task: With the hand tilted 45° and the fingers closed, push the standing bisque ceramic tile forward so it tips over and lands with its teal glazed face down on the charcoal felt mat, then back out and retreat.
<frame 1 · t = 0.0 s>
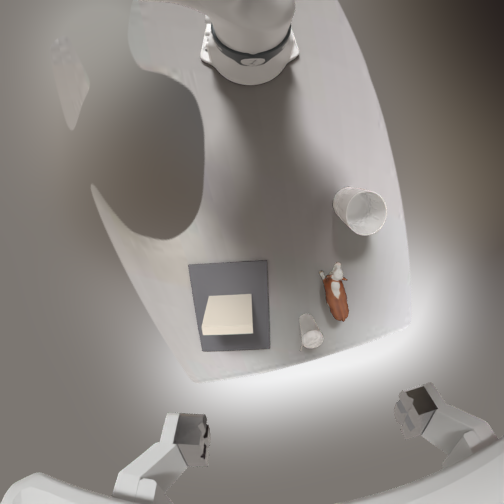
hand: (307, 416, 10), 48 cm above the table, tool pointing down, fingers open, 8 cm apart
milkshake: (303, 319, 64), on the table
mat: (231, 309, 63), on the table
tile: (230, 298, 61), point 1 cm above the table, touching mat
bull figurine: (329, 281, 61), on the table
white cup: (347, 203, 56), on the table
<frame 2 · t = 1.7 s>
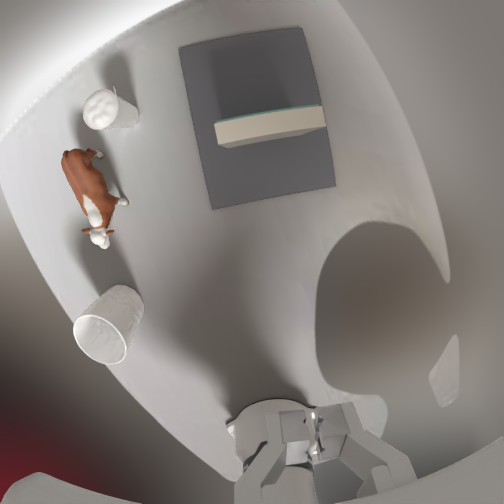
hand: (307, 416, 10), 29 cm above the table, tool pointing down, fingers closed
milkshake: (131, 114, 32), on the table
mat: (257, 111, 33), on the table
tile: (262, 134, 33), point 1 cm above the table, touching mat
bull figurine: (109, 189, 35), on the table
white cup: (125, 303, 41), on the table
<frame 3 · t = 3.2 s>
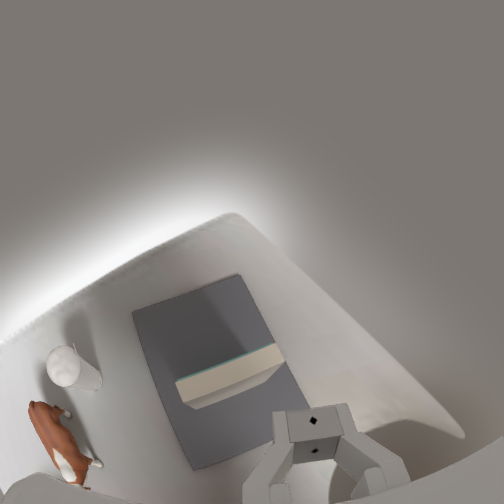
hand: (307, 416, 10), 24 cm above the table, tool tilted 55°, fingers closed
milkshake: (94, 378, 31), on the table
mat: (217, 369, 34), on the table
tile: (227, 389, 32), point 1 cm above the table, touching mat
bull figurine: (81, 450, 25), on the table
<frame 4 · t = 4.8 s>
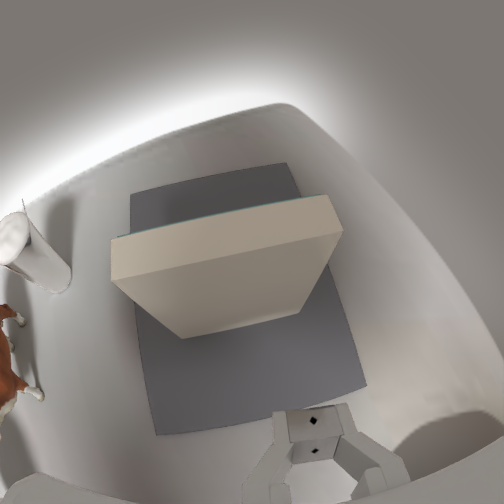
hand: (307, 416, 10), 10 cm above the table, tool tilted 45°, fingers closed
milkshake: (63, 276, 24), on the table
mat: (230, 282, 23), on the table
tile: (238, 315, 21), point 1 cm above the table, touching mat
bull figurine: (26, 371, 19), on the table
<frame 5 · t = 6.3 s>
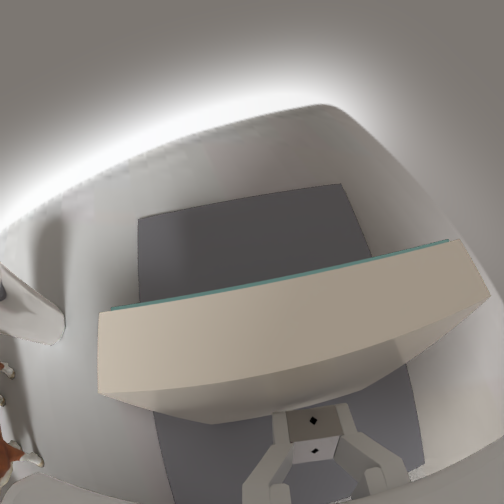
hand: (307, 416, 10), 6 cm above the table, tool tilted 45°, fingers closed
milkshake: (55, 323, 18), on the table
mat: (274, 349, 17), on the table
tile: (285, 396, 15), point 1 cm above the table, tilted 10°, touching mat
bull figurine: (20, 430, 14), on the table
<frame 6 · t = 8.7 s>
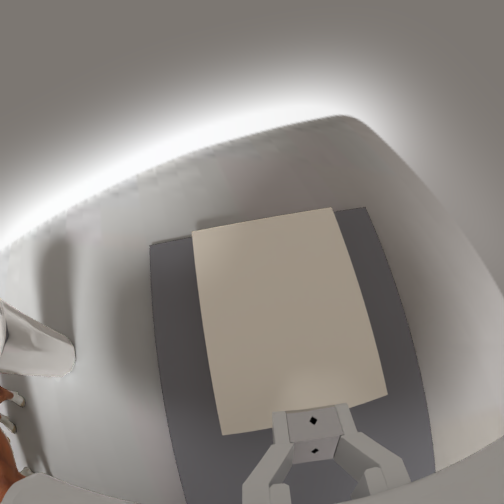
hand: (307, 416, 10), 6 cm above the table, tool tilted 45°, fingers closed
milkshake: (65, 354, 17), on the table
mat: (296, 387, 16), on the table
tile: (306, 417, 14), point 2 cm above the table, tilted 90°, touching mat
bull figurine: (33, 457, 13), on the table
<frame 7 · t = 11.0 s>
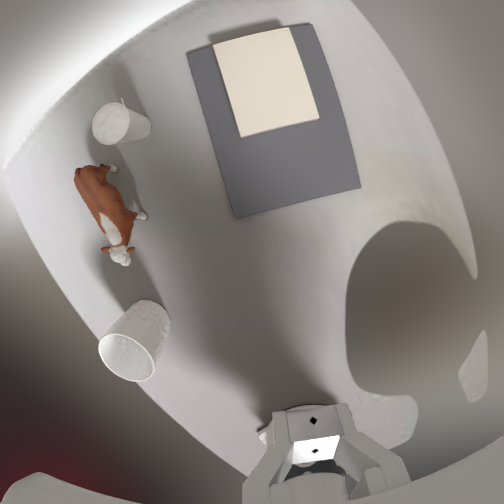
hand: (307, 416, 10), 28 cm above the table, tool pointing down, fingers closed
milkshake: (143, 125, 32), on the table
mat: (275, 114, 31), on the table
tile: (280, 127, 30), point 2 cm above the table, tilted 90°, touching mat
bull figurine: (127, 203, 36), on the table
white cup: (150, 318, 41), on the table
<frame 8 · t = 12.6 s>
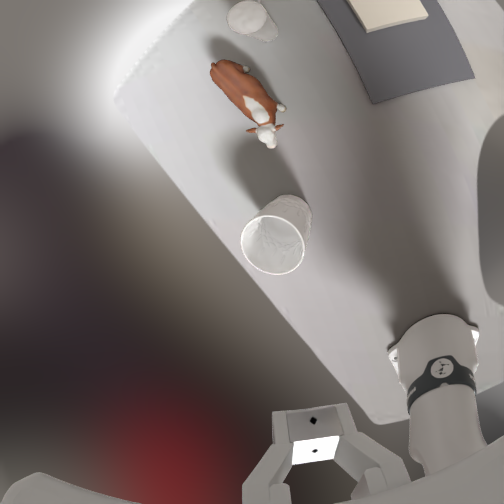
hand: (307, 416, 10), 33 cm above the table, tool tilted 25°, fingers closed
milkshake: (269, 30, 30), on the table
mat: (389, 15, 24), on the table
tile: (397, 23, 23), point 2 cm above the table, tilted 90°, touching mat
bull figurine: (262, 99, 36), on the table
white cup: (290, 215, 43), on the table
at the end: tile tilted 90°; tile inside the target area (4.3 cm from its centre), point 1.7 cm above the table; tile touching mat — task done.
